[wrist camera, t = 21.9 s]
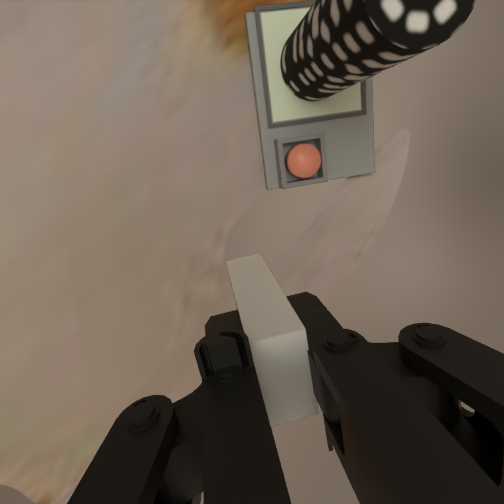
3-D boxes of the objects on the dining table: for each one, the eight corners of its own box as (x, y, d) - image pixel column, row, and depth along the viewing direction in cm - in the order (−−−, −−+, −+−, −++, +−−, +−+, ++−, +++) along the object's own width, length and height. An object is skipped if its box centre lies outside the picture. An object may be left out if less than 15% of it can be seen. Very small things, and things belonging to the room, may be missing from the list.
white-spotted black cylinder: (359, 65, 39) (506, -21, 21) (311, 116, 40) (411, 79, 21) (315, 6, 37) (437, -153, 18) (265, 62, 38) (332, -34, 19)
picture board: (243, 11, 37) (247, -1, 34) (365, -1, 39) (379, -14, 36) (266, 189, 43) (271, 191, 40) (370, 172, 45) (382, 173, 42)
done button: (282, 146, 41) (287, 146, 38) (313, 142, 41) (319, 141, 39) (286, 178, 42) (291, 180, 39) (315, 174, 42) (322, 175, 40)
